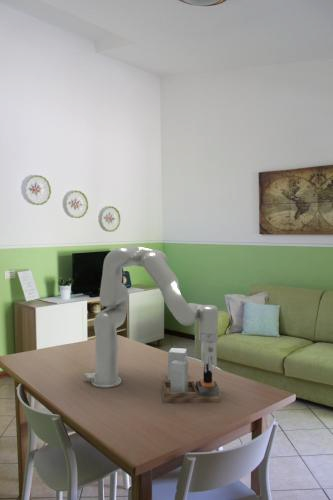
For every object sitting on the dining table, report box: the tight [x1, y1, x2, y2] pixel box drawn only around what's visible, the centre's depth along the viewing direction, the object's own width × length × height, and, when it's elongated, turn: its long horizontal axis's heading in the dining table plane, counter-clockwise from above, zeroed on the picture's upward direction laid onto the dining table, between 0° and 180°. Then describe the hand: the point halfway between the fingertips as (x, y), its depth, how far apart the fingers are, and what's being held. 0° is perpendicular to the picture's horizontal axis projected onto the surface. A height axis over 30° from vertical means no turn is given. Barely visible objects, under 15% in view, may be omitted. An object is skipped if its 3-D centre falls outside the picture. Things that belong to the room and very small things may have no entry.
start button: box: [199, 379, 215, 387], centre depth 174 cm, size 5×5×2 cm
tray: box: [160, 380, 221, 404], centre depth 173 cm, size 22×14×4 cm, turn 94°
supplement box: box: [167, 347, 188, 381], centre depth 193 cm, size 7×7×13 cm
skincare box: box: [170, 360, 189, 392], centre depth 173 cm, size 6×4×12 cm
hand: (207, 381), depth 173 cm, fingers closed
